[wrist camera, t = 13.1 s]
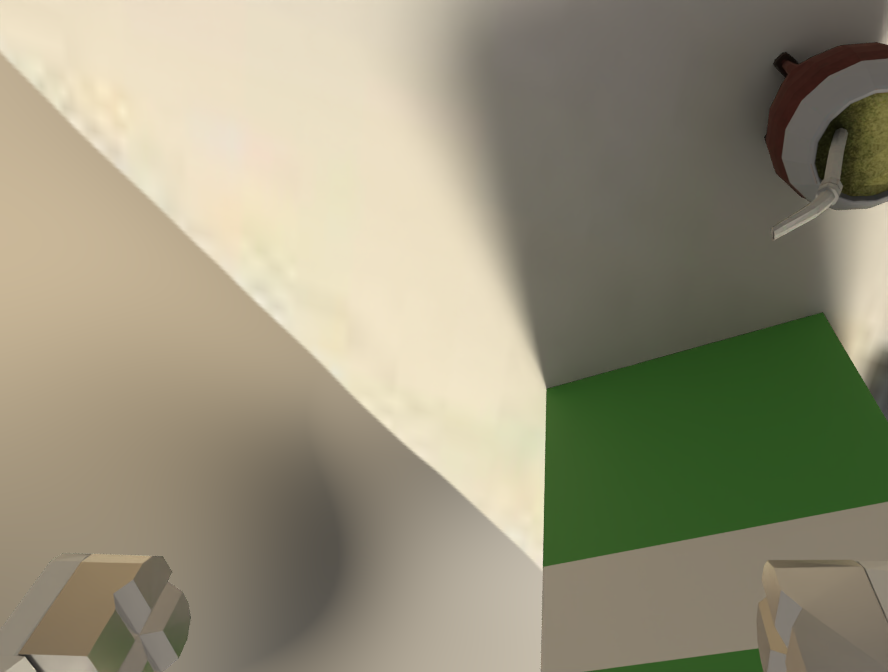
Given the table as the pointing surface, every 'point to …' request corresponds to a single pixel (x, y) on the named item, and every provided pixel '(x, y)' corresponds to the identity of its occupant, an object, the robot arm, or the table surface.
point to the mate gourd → (831, 130)
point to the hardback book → (702, 496)
